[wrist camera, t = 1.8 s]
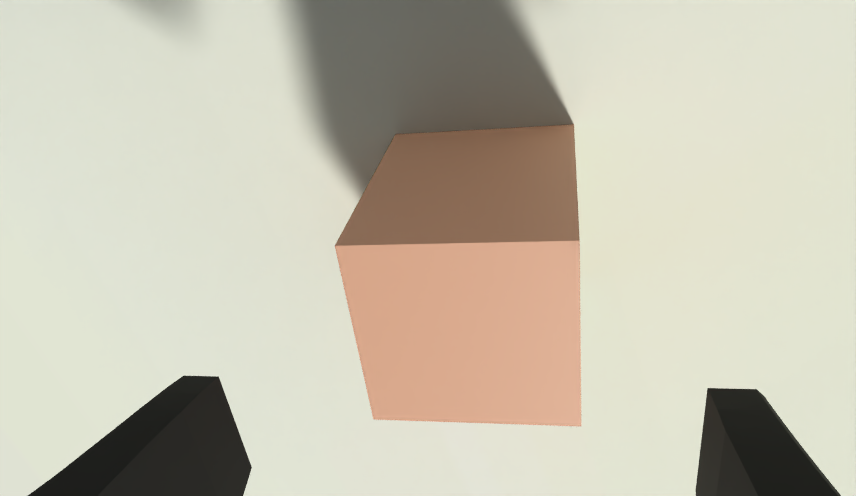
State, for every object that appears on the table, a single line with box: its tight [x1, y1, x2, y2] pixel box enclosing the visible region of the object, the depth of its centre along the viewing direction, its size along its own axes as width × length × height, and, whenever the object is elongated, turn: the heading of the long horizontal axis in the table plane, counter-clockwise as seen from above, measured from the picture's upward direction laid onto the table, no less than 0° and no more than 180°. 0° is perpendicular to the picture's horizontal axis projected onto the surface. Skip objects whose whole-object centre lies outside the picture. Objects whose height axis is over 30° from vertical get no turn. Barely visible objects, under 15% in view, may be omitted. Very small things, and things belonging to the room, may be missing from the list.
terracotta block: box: [335, 124, 581, 426], centre depth 14 cm, size 4×4×5 cm
